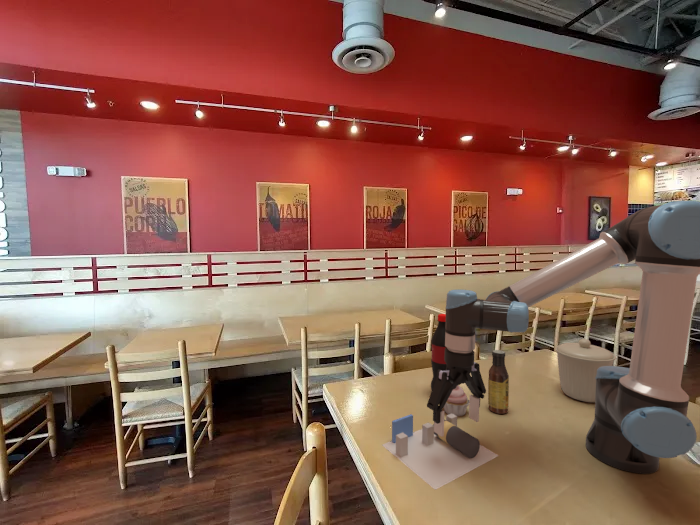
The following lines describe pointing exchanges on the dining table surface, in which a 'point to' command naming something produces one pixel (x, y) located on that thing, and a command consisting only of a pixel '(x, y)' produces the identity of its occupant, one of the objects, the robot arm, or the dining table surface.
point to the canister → (581, 368)
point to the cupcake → (457, 402)
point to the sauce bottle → (498, 384)
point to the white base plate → (432, 452)
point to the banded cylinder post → (460, 440)
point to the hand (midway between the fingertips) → (456, 426)
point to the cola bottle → (438, 348)
